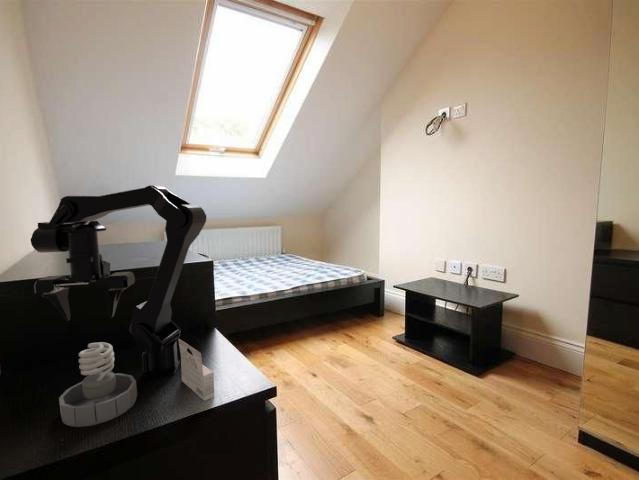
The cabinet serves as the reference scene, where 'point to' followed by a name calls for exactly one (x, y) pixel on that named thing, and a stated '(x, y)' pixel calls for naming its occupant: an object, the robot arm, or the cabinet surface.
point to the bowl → (87, 413)
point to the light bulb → (97, 371)
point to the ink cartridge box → (196, 372)
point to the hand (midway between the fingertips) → (90, 318)
